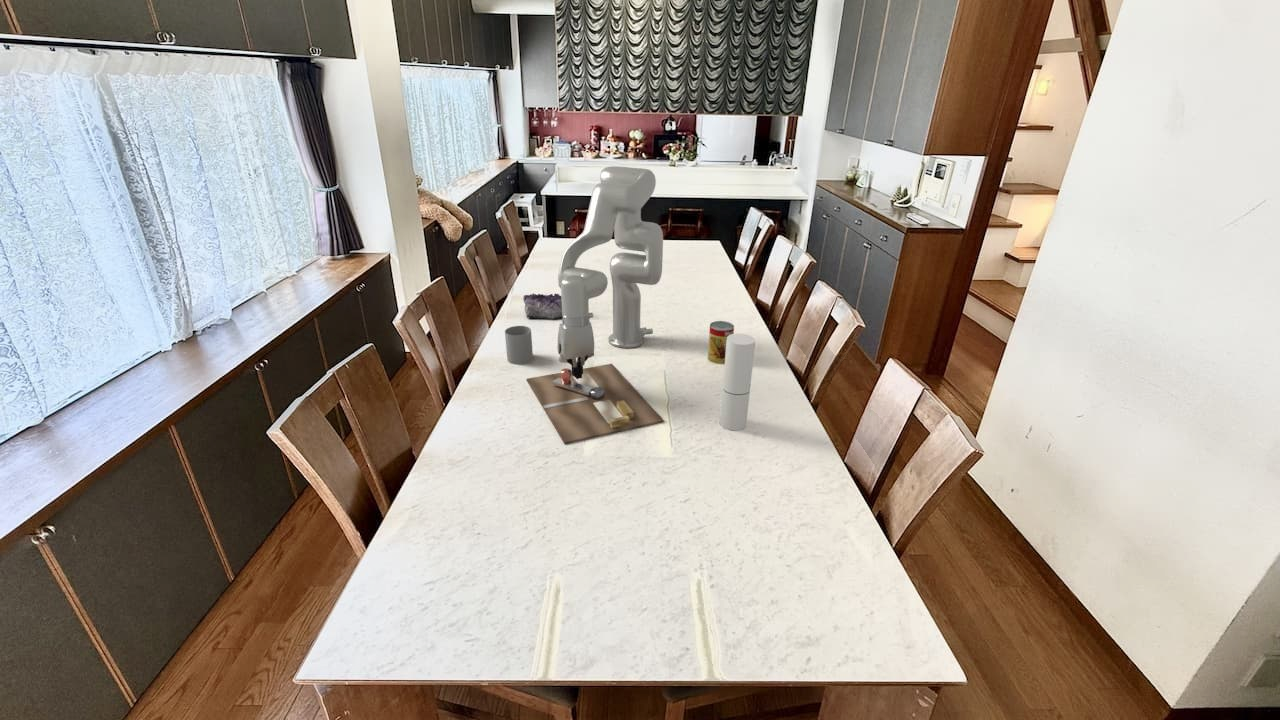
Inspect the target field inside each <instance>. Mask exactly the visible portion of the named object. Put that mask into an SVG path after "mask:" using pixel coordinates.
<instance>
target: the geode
mask: <svg viewBox="0 0 1280 720" xmlns="http://www.w3.org/2000/svg"><path fill="white" fill-rule="evenodd" d="M522 301H523V303H524V304H525V305H524V312H525V313H526V315H525V316H526V318H529V319H530V318H531V319H532V318H540V319H546V320H552V321H553V320H556V319H560V318H561V319H562V299H561V294H559V293H554V294H553V293H551V294H547V295H546V294H543V293H541V294H540V293H538V294H536V293H532V294H531V293H530V294H525V295H523V298H522Z"/></svg>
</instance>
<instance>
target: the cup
mask: <svg viewBox="0 0 1280 720" xmlns="http://www.w3.org/2000/svg"><path fill="white" fill-rule="evenodd" d="M504 335H505V336H504V337H505V339H504V340H505V347H506V348H505V350H506V359H507V363H510V364H512V365H525V364H528V363H530V362H532V361H533V360H534V355H533V353H534V352H533V340H532V339H533V336H532V329H531V327H528V326H526V325H514V326H510V327H506V329H505V330H504Z"/></svg>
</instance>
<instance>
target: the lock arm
mask: <svg viewBox="0 0 1280 720" xmlns="http://www.w3.org/2000/svg"><path fill="white" fill-rule="evenodd" d="M571 371H572V369H570V368H563V369H560V373H561V378H557V379H555V380H554V381H552V383H553V385H556V386H559V387H563V388H566V389H569V390H573V391H576V392H579V393H582V394H586V395H591V398H593V399H602V398H604V389H603V388H600V387H595V388H592V387H589V386H585V385H582V384H579V383H575V382H572V381H571Z"/></svg>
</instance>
